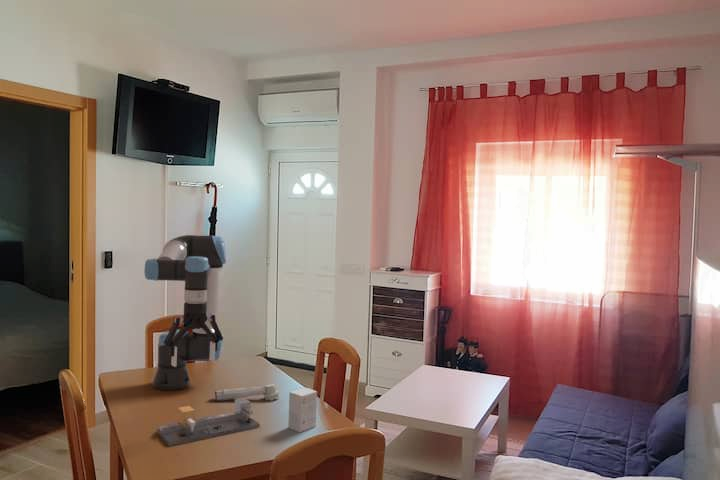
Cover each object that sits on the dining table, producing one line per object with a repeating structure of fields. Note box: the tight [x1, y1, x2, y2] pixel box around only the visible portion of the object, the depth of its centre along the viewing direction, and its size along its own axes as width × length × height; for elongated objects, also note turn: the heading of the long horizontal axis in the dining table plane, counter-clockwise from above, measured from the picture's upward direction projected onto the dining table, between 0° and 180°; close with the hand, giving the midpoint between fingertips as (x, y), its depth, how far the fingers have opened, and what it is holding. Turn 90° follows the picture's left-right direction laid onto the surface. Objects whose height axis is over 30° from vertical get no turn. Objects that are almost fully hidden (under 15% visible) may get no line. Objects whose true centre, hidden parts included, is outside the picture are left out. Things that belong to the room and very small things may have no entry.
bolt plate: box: [155, 397, 261, 447], centre depth 193 cm, size 13×32×7 cm, turn 127°
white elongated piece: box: [214, 383, 280, 402], centre depth 225 cm, size 5×7×25 cm
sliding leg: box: [177, 405, 196, 432], centre depth 189 cm, size 9×4×6 cm, turn 37°
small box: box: [287, 387, 318, 433], centre depth 199 cm, size 8×6×13 cm
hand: (193, 363), depth 192 cm, fingers open, 13 cm apart
